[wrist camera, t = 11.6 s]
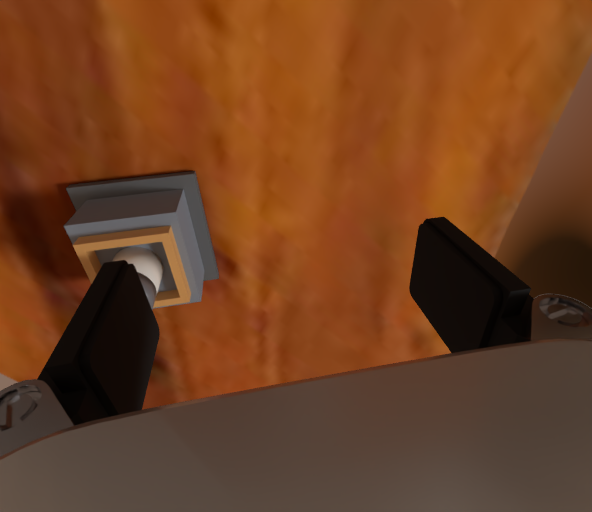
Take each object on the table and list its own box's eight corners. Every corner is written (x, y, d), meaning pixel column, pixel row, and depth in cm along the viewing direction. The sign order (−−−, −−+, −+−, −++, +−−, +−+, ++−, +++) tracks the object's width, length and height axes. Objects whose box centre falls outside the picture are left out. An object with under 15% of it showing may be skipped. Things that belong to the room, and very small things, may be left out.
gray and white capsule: (104, 251, 33) (81, 289, 28) (154, 242, 33) (140, 278, 28) (123, 289, 35) (106, 330, 30) (170, 281, 36) (160, 320, 31)
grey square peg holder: (69, 184, 35) (29, 220, 28) (195, 170, 37) (186, 201, 30) (116, 288, 43) (94, 337, 36) (218, 274, 44) (216, 318, 37)
